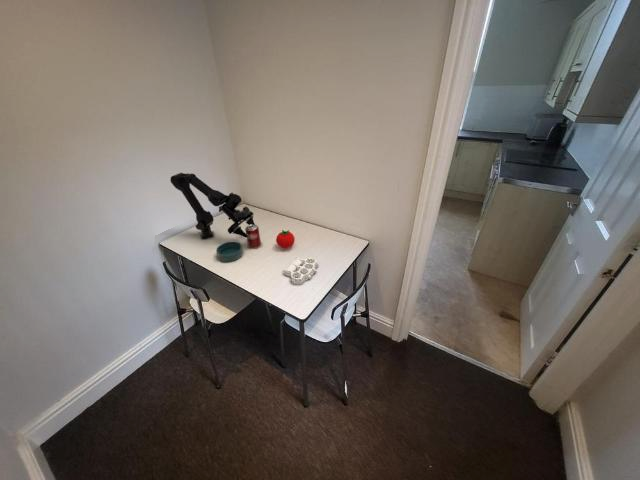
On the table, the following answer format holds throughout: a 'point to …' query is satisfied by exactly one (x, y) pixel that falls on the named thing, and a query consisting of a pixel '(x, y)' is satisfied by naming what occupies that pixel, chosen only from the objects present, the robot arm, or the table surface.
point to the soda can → (253, 236)
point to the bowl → (229, 251)
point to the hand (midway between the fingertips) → (252, 233)
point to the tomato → (285, 239)
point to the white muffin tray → (301, 269)
